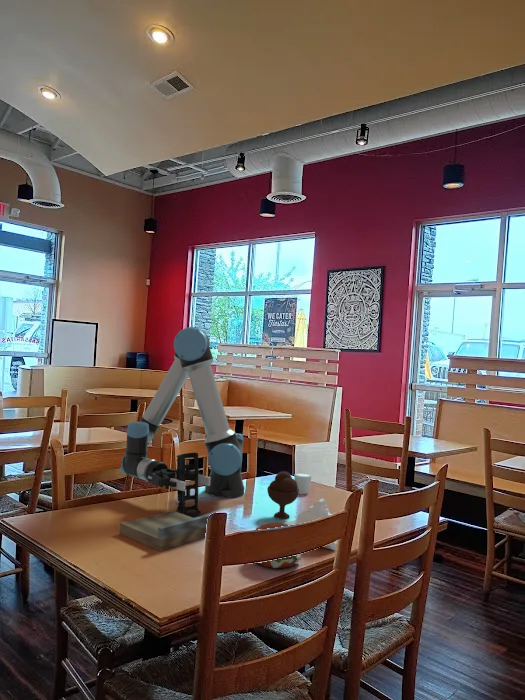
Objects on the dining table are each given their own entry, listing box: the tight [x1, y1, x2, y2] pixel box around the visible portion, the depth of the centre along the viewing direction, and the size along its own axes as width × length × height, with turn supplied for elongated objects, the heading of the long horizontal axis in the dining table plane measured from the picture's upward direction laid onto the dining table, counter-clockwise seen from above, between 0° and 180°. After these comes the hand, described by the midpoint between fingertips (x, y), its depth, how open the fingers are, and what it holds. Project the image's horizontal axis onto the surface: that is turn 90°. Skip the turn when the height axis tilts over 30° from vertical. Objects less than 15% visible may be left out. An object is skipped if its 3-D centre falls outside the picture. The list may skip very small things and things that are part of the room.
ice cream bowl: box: [267, 470, 299, 520], centre depth 187 cm, size 11×11×15 cm
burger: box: [255, 521, 302, 569], centre depth 147 cm, size 13×14×10 cm
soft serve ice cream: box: [283, 497, 337, 552], centre depth 163 cm, size 12×15×14 cm
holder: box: [176, 452, 202, 518], centre depth 182 cm, size 11×8×20 cm
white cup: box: [293, 472, 312, 495], centre depth 222 cm, size 7×7×7 cm
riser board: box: [119, 510, 211, 552], centre depth 162 cm, size 20×18×6 cm
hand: (197, 484), depth 179 cm, fingers closed on holder, 10 cm apart
